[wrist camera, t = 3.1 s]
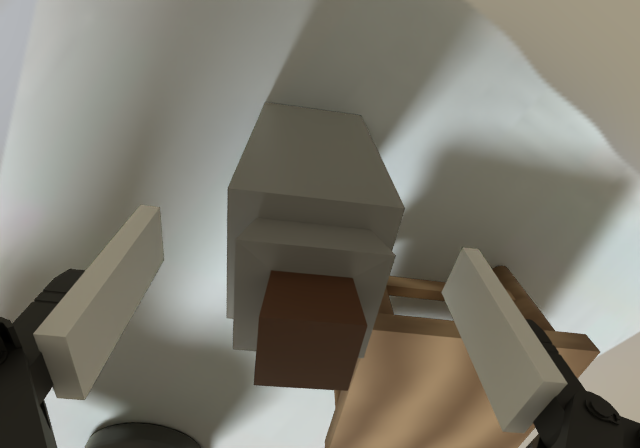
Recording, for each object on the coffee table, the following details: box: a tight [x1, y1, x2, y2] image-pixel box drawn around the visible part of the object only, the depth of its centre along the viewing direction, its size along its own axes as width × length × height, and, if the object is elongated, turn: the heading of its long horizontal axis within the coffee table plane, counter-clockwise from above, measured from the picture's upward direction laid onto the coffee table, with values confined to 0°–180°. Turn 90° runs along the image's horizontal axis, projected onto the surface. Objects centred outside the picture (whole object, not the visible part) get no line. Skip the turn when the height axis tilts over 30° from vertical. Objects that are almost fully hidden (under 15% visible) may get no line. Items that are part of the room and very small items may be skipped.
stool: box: [325, 266, 600, 448], centre depth 32 cm, size 16×16×10 cm
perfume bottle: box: [227, 102, 405, 391], centre depth 19 cm, size 7×7×18 cm
